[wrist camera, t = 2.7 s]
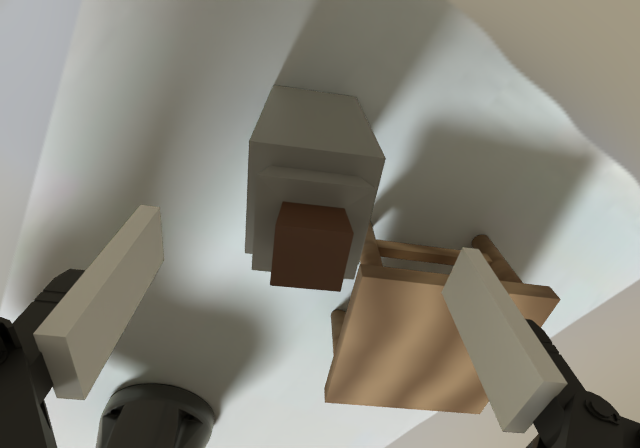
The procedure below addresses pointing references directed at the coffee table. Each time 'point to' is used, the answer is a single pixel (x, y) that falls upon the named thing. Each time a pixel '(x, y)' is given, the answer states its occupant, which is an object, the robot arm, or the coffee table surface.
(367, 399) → the stool
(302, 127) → the perfume bottle
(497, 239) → the coffee table surface
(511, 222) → the coffee table surface
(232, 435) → the coffee table surface
